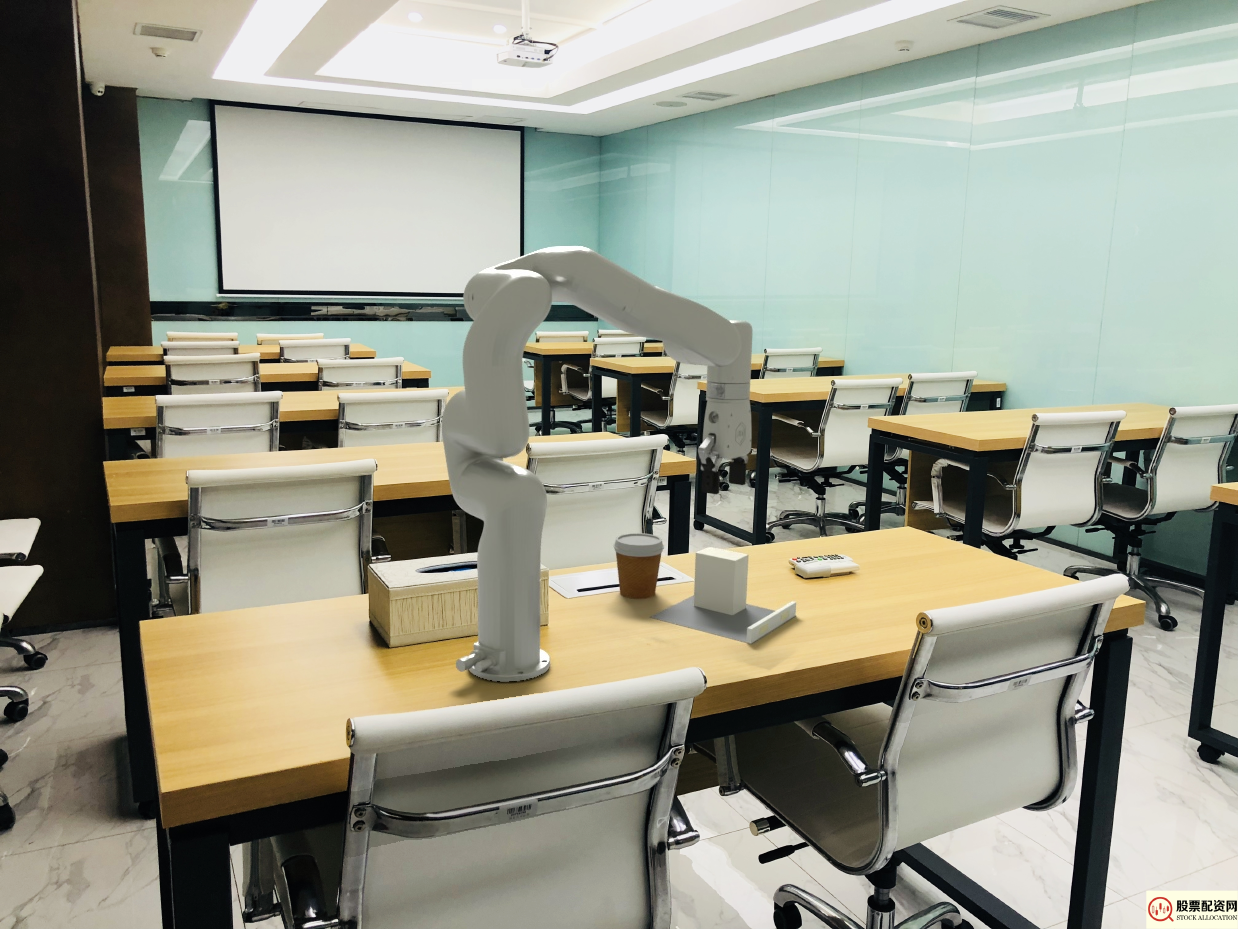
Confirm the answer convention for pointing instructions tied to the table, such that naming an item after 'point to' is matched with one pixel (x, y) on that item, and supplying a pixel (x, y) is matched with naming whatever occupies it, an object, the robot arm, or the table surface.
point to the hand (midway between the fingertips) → (724, 488)
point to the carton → (721, 580)
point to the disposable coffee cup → (638, 564)
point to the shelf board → (728, 620)
